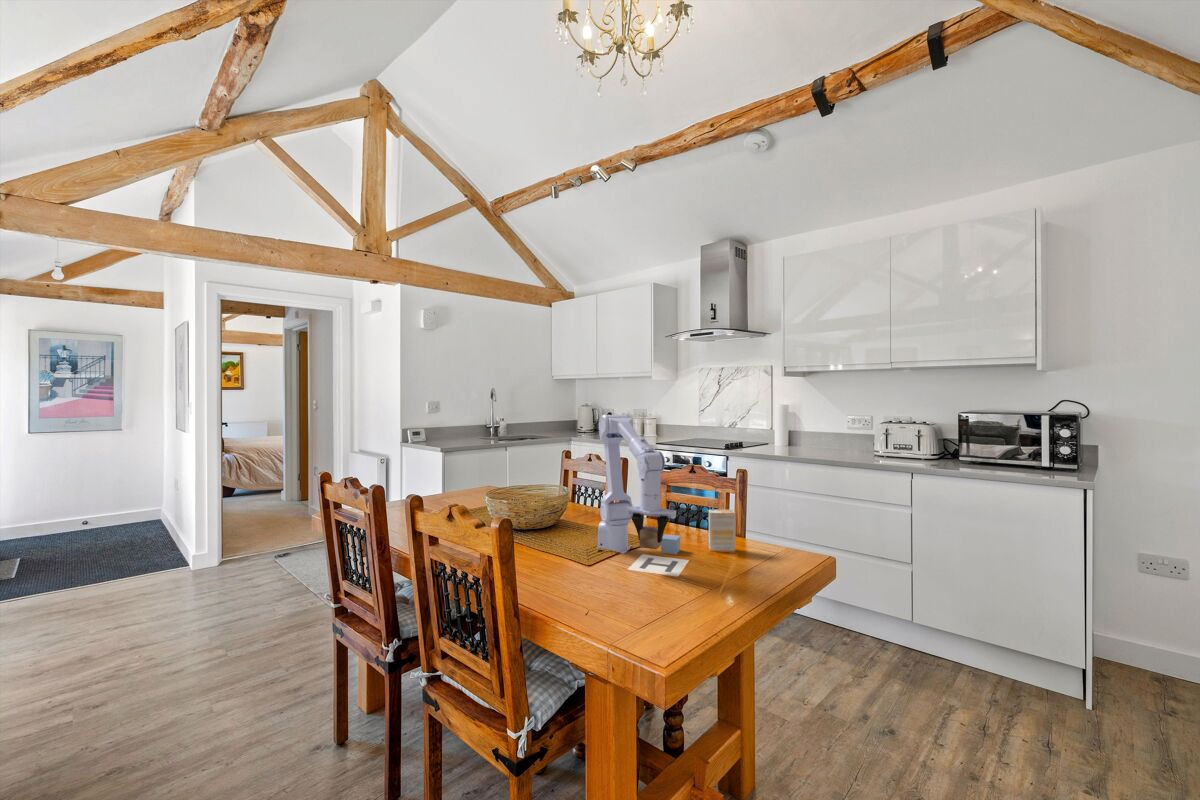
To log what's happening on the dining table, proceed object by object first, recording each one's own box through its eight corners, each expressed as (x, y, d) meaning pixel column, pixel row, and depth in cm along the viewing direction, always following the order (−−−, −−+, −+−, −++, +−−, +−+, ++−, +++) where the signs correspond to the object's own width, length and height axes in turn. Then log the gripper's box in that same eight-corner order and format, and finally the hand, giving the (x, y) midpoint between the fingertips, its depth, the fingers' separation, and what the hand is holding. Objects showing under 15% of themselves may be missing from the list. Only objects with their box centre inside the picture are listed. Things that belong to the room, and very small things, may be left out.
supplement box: (733, 548, 180) (733, 509, 179) (735, 553, 175) (736, 512, 174) (707, 547, 180) (708, 508, 180) (709, 552, 176) (709, 512, 175)
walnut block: (639, 547, 156) (639, 530, 156) (644, 542, 161) (644, 525, 161) (656, 549, 154) (656, 531, 154) (661, 544, 159) (661, 527, 159)
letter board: (627, 570, 158) (627, 569, 158) (642, 555, 172) (642, 554, 172) (678, 577, 153) (678, 576, 153) (689, 561, 167) (689, 560, 167)
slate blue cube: (660, 553, 174) (661, 538, 174) (665, 549, 179) (665, 534, 179) (676, 555, 172) (676, 540, 172) (679, 551, 177) (680, 535, 177)
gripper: (622, 494, 156) (622, 541, 156) (672, 498, 151) (671, 547, 151) (629, 490, 162) (629, 535, 163) (677, 493, 157) (677, 540, 158)
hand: (650, 540), depth 157 cm, fingers closed on walnut block, 5 cm apart
